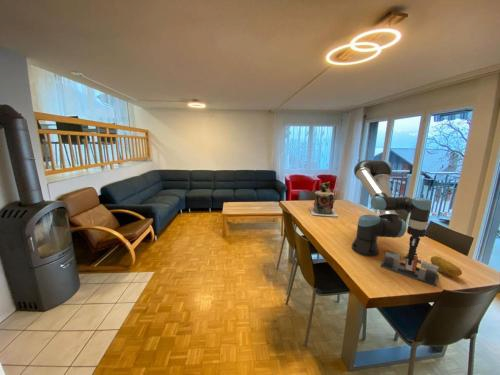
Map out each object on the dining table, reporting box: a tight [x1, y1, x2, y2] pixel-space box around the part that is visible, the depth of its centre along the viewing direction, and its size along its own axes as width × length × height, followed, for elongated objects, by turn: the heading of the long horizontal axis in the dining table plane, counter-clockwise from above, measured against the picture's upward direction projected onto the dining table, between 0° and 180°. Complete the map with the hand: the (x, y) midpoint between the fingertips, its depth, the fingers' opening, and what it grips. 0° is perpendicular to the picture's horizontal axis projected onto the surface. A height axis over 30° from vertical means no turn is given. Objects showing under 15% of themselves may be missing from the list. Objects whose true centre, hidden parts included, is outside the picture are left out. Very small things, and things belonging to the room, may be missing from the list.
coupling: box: [402, 253, 422, 272], centre depth 111 cm, size 8×5×7 cm, turn 46°
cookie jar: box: [309, 181, 339, 218], centre depth 205 cm, size 25×25×32 cm
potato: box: [430, 255, 463, 277], centre depth 112 cm, size 7×14×7 cm, turn 3°
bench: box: [379, 249, 439, 288], centre depth 112 cm, size 24×12×8 cm, turn 46°
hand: (409, 267), depth 112 cm, fingers closed on coupling, 5 cm apart
